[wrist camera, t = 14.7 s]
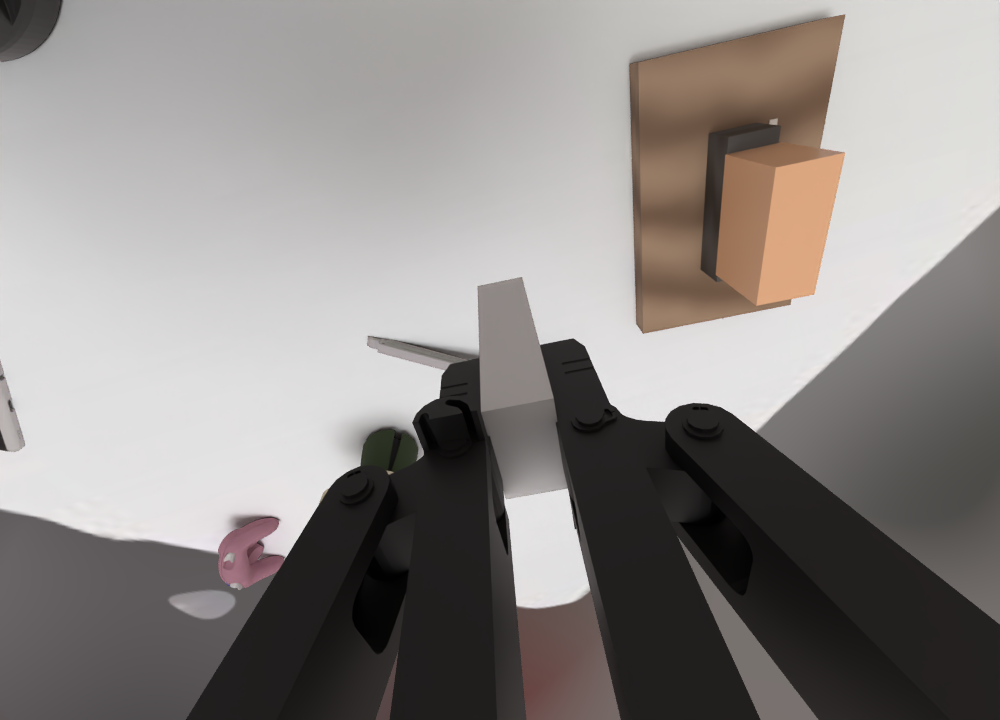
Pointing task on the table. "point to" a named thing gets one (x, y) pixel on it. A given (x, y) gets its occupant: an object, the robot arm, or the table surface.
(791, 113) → the board
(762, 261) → the block
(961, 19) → the table surface
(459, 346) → the table surface
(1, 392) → the smartphone
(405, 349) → the caliper
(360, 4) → the table surface
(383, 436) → the character mug
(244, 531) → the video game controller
